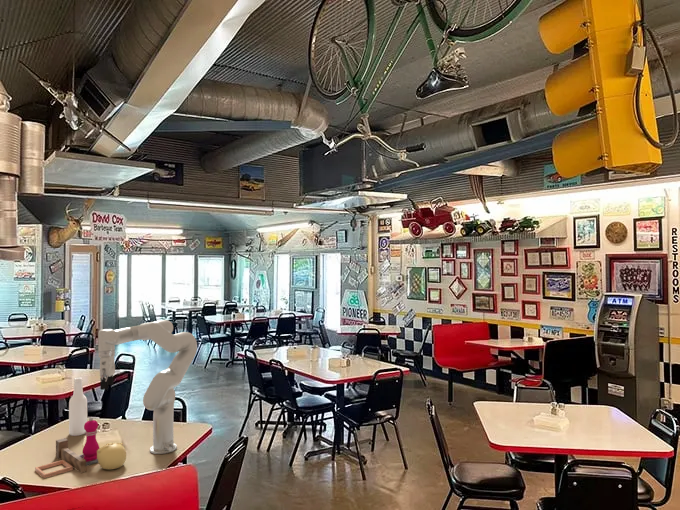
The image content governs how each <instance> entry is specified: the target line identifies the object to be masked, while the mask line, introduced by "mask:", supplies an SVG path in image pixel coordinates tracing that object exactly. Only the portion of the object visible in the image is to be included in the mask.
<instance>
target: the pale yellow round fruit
mask: <svg viewBox="0 0 680 510" xmlns="http://www.w3.org/2000/svg"><path fill="white" fill-rule="evenodd" d="M123 444H124V443H122V442H108V443H106V444H104V446H102V447H99V448H100V449H98V450H97V459H98V464H99V467H100V468H101V469H103V470H115V469H118V468H121V467H122V466H124V464H125V463H126V460H127V450H126V448H125V447H124V445H123Z"/></svg>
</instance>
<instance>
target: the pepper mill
mask: <svg viewBox="0 0 680 510" xmlns="http://www.w3.org/2000/svg"><path fill="white" fill-rule="evenodd" d="M98 427H99V423H98V421H97V420H94V417H92V416H91V417H89V418H88V420H87V422H86V423H85V425H84V429H85V430H86V432H85V434H84V435H85V437H86V440H85V443H84V446H83V447H82V454H84V455H85V456H84V458H83V459H85V460H86V462H88V461H91V460H95V459H97V450H98V449H100V448H101V447H100V444H99V443H98V440H97V434H98V430H97V429H98Z"/></svg>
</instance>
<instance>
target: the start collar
mask: <svg viewBox="0 0 680 510" xmlns="http://www.w3.org/2000/svg"><path fill="white" fill-rule="evenodd" d="M78 455H79V456H80V457H82V458H83V459H84V456H85V455H84V454H83V453H82V454H78ZM97 463H98V464H99V462H98V459H95V460H91V461H88V462H86V467H88V466H91V465H94V464H97Z"/></svg>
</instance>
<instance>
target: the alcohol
mask: <svg viewBox="0 0 680 510" xmlns="http://www.w3.org/2000/svg"><path fill="white" fill-rule="evenodd" d="M73 382H74V383H73V395H72V396H71V397H70V398H69V402H68V434H69V436H72V437H76V436H77V437H78V436H82V435H85V432H86V430H85V429H84V425H85V423H86V422H87V421H88V399H87V396H86V395H85V394H84V390H83V389H84V388H83V377H79V376H78V377H75V378H73Z"/></svg>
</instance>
